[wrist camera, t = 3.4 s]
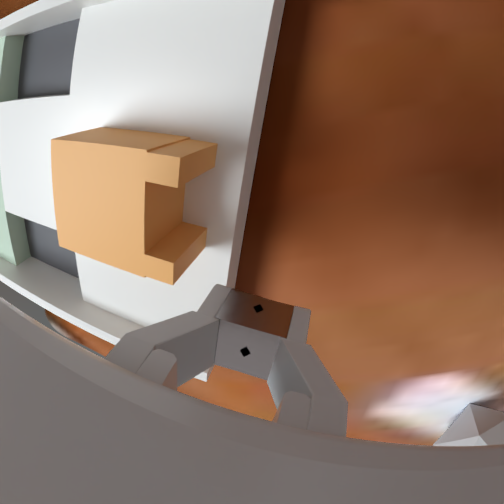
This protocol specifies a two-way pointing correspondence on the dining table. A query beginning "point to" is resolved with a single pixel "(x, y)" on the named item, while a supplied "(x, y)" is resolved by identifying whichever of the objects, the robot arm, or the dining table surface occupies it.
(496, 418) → the die
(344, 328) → the dining table surface
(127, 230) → the block
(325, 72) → the dining table surface
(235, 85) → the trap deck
